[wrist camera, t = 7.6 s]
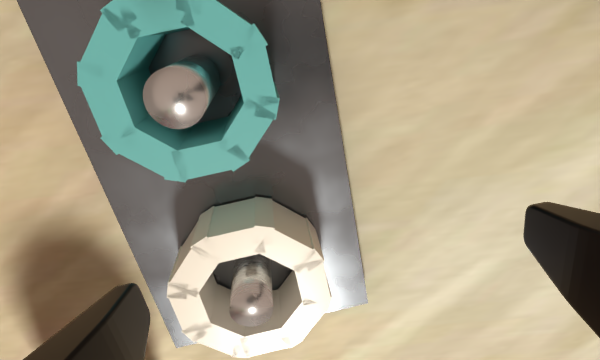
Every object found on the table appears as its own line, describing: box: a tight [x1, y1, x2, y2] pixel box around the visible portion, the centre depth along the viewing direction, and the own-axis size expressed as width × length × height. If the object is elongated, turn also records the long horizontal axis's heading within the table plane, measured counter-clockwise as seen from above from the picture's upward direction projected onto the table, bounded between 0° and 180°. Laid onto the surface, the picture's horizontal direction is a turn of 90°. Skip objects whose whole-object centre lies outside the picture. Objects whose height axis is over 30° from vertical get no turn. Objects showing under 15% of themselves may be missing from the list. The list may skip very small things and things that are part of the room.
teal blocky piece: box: [77, 0, 280, 182], centre depth 15 cm, size 7×7×4 cm
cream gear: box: [167, 196, 332, 358], centre depth 19 cm, size 8×8×3 cm
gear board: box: [17, 0, 368, 348], centre depth 16 cm, size 12×22×6 cm, turn 11°
